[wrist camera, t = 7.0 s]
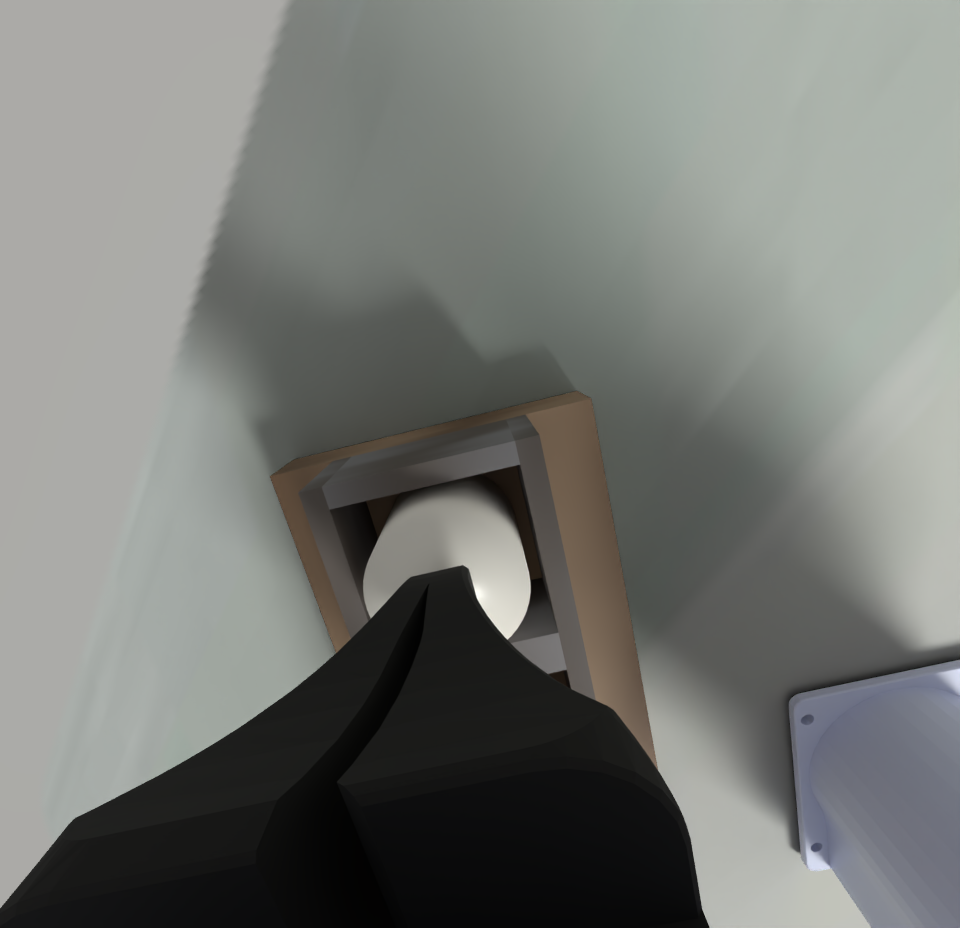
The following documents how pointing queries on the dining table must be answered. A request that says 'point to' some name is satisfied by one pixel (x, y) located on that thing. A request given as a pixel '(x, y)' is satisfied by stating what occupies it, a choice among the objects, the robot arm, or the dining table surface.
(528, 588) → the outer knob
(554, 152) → the dining table surface
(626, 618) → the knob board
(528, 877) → the robot arm
